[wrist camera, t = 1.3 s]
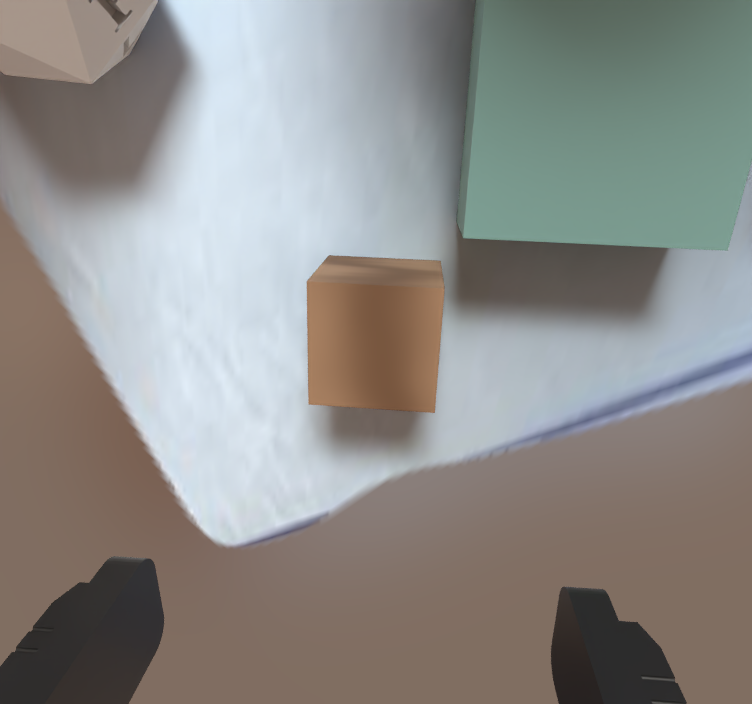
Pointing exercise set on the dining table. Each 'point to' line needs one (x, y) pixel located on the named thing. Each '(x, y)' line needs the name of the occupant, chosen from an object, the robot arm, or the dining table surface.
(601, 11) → the base block
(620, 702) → the robot arm
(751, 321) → the dining table surface
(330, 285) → the walnut block
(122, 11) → the die
